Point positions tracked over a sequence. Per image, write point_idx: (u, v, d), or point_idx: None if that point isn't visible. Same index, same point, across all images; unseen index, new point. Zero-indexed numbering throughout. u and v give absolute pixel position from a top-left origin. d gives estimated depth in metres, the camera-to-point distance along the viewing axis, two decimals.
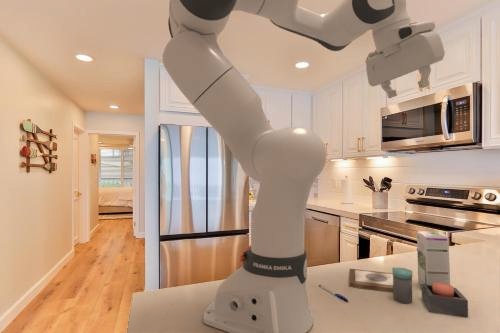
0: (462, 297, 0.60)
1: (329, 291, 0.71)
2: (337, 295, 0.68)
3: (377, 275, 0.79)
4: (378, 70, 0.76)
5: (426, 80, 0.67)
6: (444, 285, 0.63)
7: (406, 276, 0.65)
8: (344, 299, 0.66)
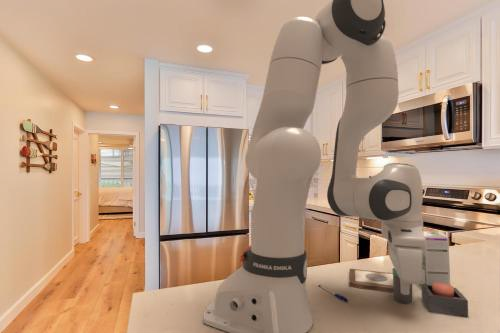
0: (462, 297, 0.60)
1: (329, 291, 0.71)
2: (337, 295, 0.68)
3: (377, 275, 0.79)
4: (390, 248, 0.72)
5: (406, 288, 0.63)
6: (444, 285, 0.63)
7: None
8: (344, 299, 0.66)
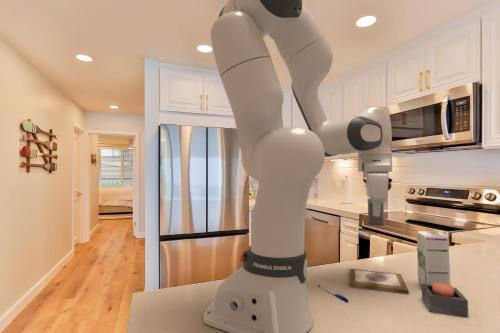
0: (462, 297, 0.60)
1: (328, 291, 0.71)
2: (337, 295, 0.68)
3: (377, 275, 0.79)
4: None
5: (377, 211, 0.75)
6: (444, 285, 0.63)
7: None
8: (344, 299, 0.66)
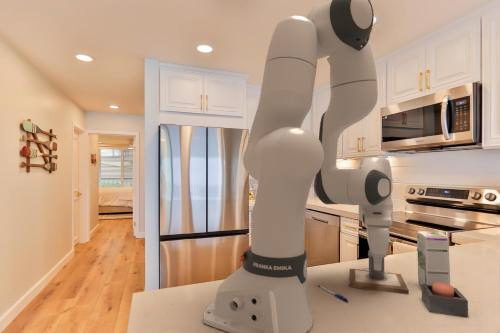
0: (462, 297, 0.60)
1: (328, 291, 0.71)
2: (337, 295, 0.68)
3: None
4: (367, 230, 0.84)
5: (378, 265, 0.73)
6: (444, 285, 0.63)
7: None
8: (344, 299, 0.66)
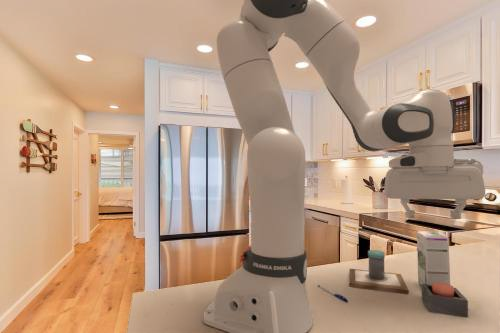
0: (462, 297, 0.60)
1: (328, 291, 0.71)
2: (336, 295, 0.68)
3: None
4: None
5: (407, 211, 0.67)
6: (444, 285, 0.63)
7: (379, 256, 0.76)
8: (344, 299, 0.66)
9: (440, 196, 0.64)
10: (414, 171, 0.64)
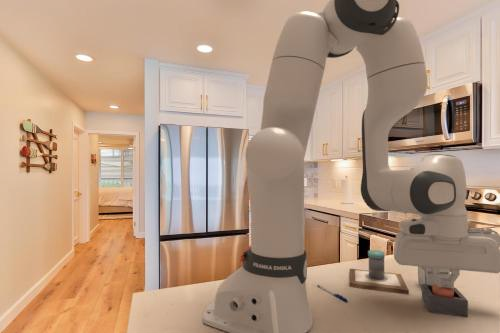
0: (462, 297, 0.60)
1: (328, 291, 0.71)
2: (336, 295, 0.68)
3: None
4: None
5: (437, 280, 0.63)
6: None
7: (379, 256, 0.76)
8: (343, 299, 0.66)
9: (452, 266, 0.61)
10: (424, 239, 0.62)
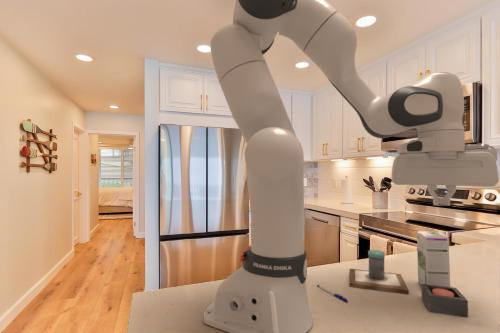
0: (462, 297, 0.60)
1: (328, 291, 0.71)
2: (336, 295, 0.68)
3: None
4: None
5: (434, 199, 0.64)
6: (444, 292, 0.63)
7: (379, 256, 0.76)
8: (343, 299, 0.66)
9: (449, 182, 0.62)
10: (421, 156, 0.63)
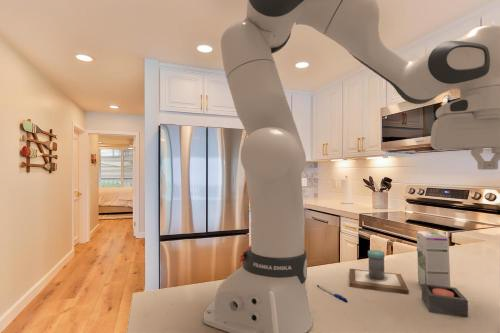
0: (462, 297, 0.60)
1: (328, 291, 0.71)
2: (336, 295, 0.68)
3: None
4: None
5: (479, 162, 0.59)
6: (444, 292, 0.63)
7: (379, 256, 0.76)
8: (343, 299, 0.66)
9: (497, 143, 0.57)
10: (466, 116, 0.58)
